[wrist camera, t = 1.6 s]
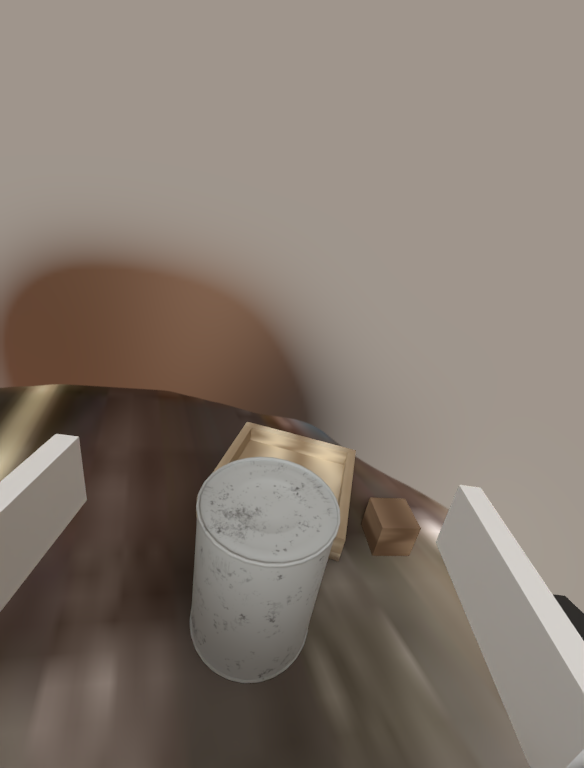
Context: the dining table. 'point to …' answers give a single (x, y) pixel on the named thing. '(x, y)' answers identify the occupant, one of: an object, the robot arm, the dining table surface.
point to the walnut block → (390, 527)
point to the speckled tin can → (258, 565)
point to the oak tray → (307, 452)
